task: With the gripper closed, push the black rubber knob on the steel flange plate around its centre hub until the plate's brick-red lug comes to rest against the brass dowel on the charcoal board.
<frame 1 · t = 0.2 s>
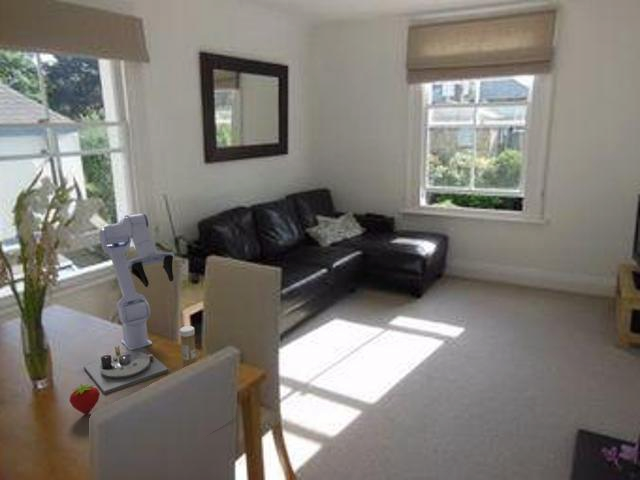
hand: (159, 282, 150), 31 cm above the table, tool tilted 45°, fingers open, 7 cm apart
brass dowel: (118, 359, 167), resting on charcoal board
charcoal board: (126, 370, 160), on the table
flange plate: (126, 358, 160), point 4 cm above the table, hinge at -80.0°
sprinkles bottle: (189, 366, 163), on the table
strawberry: (87, 414, 137), on the table
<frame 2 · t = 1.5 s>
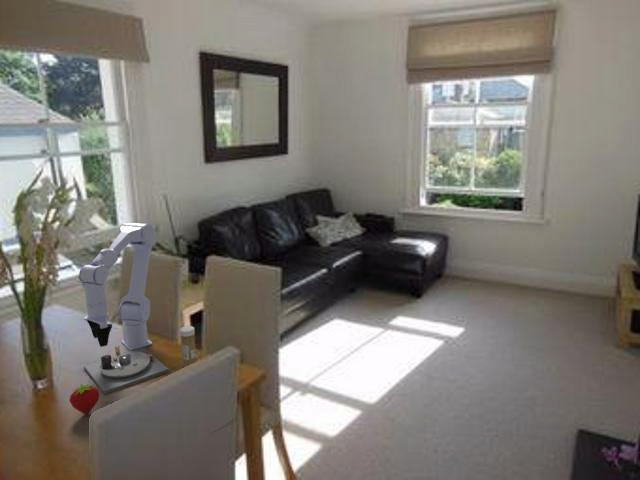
hand: (100, 341, 159), 10 cm above the table, tool pointing down, fingers open, 7 cm apart
nothing on the table moved.
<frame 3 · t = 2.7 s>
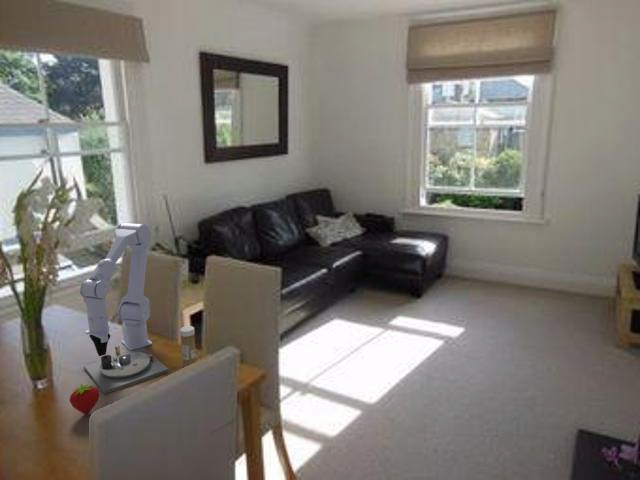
hand: (102, 354, 161), 5 cm above the table, tool pointing down, fingers closed
nothing on the table moved.
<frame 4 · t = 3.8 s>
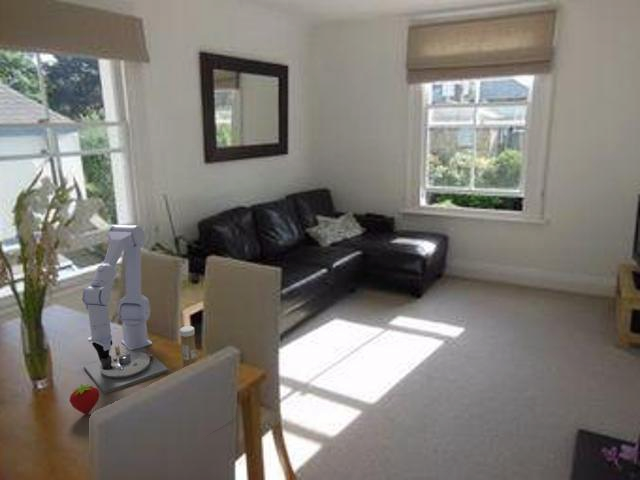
hand: (104, 362, 158), 4 cm above the table, tool pointing down, fingers closed, pressing on flange plate
flange plate: (126, 358, 160), point 4 cm above the table, hinge at -78.4°, touching gripper
everything else where it was.
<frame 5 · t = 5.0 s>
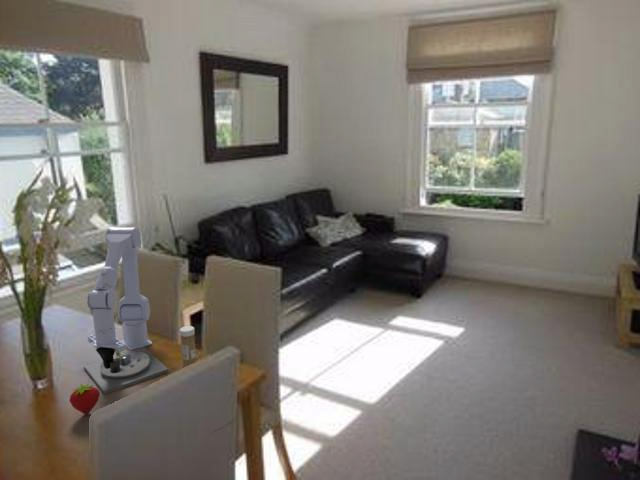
hand: (109, 367, 155), 4 cm above the table, tool pointing down, fingers closed, pressing on flange plate
flange plate: (125, 358, 160), point 4 cm above the table, hinge at -35.3°, touching gripper
everything else where it was.
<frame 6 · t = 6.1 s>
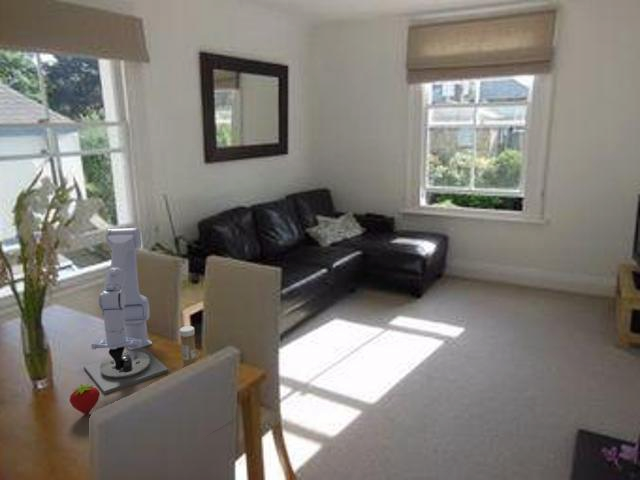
hand: (119, 368, 154), 4 cm above the table, tool pointing down, fingers closed, pressing on flange plate
flange plate: (124, 358, 160), point 4 cm above the table, hinge at 2.0°, touching gripper
everything else where it was.
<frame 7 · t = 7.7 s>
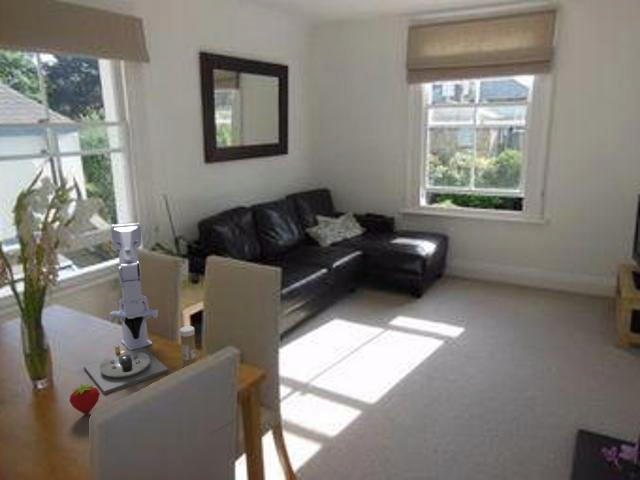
hand: (136, 337, 162), 9 cm above the table, tool pointing down, fingers closed
flange plate: (124, 358, 160), point 4 cm above the table, hinge at 2.3°, touching brass dowel
everything else where it was.
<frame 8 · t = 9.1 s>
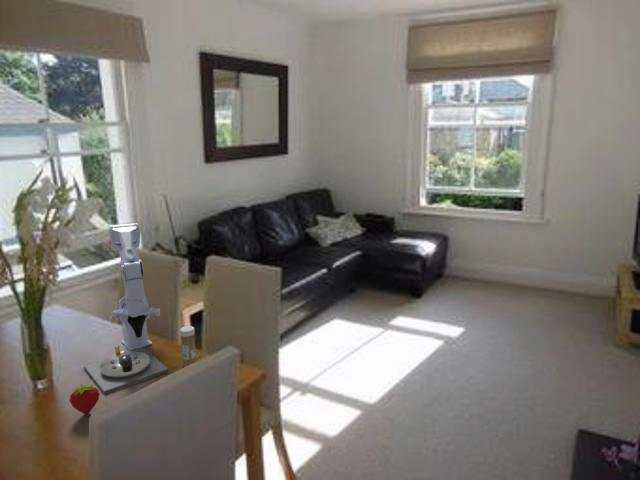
hand: (139, 336, 163), 9 cm above the table, tool pointing down, fingers closed
nothing on the table moved.
at the end: flange plate at +2° (first picture: -80°); sprinkles bottle moved 0.2 cm from its start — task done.
